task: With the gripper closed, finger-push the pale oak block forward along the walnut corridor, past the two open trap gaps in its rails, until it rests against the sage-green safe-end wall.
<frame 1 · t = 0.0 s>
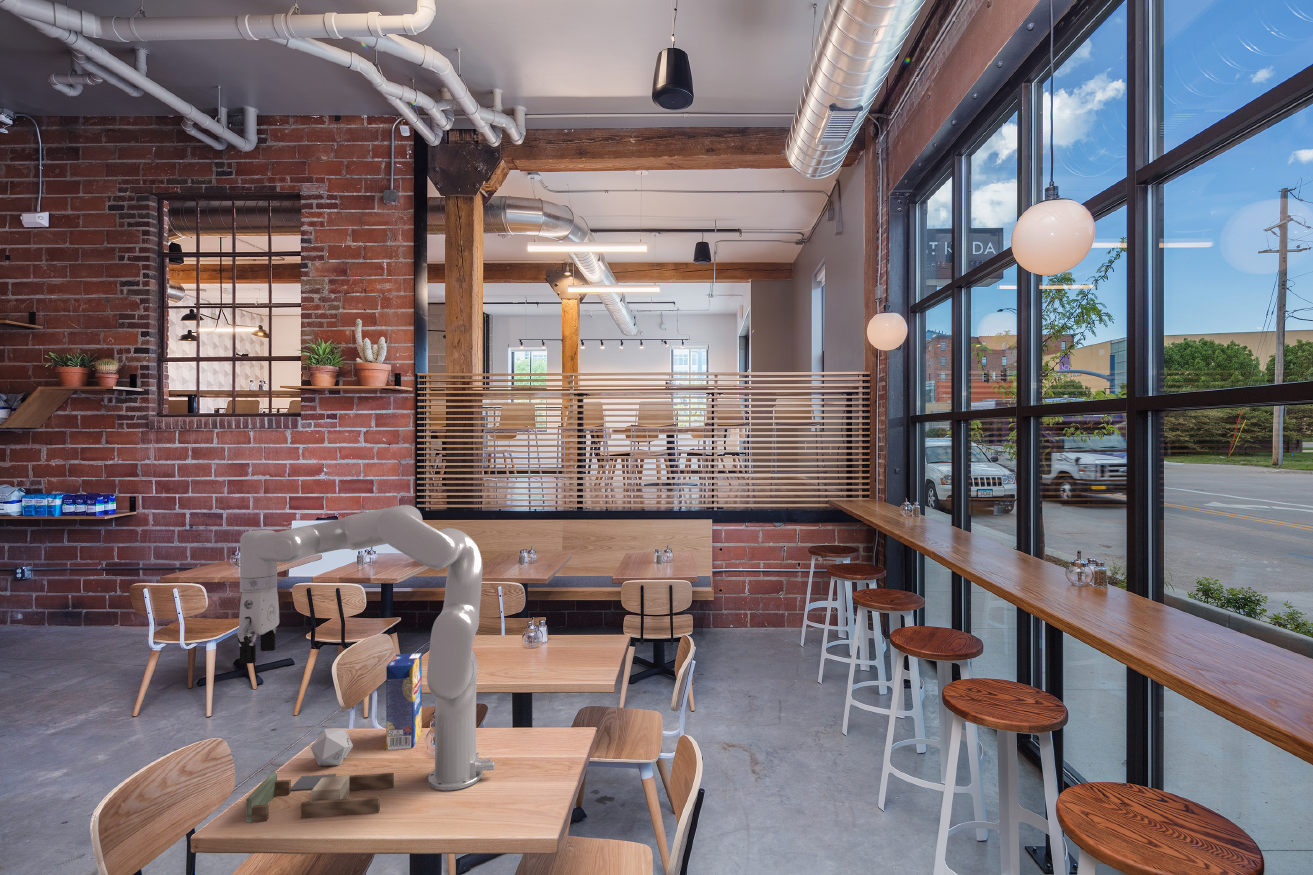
hand: (258, 656, 153), 31 cm above the table, fingers open, 9 cm apart
oak block: (330, 803, 147), on the table
die: (332, 763, 167), on the table
trap box: (326, 802, 147), on the table
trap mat: (313, 782, 156), on the table
beverage box: (404, 740, 179), on the table
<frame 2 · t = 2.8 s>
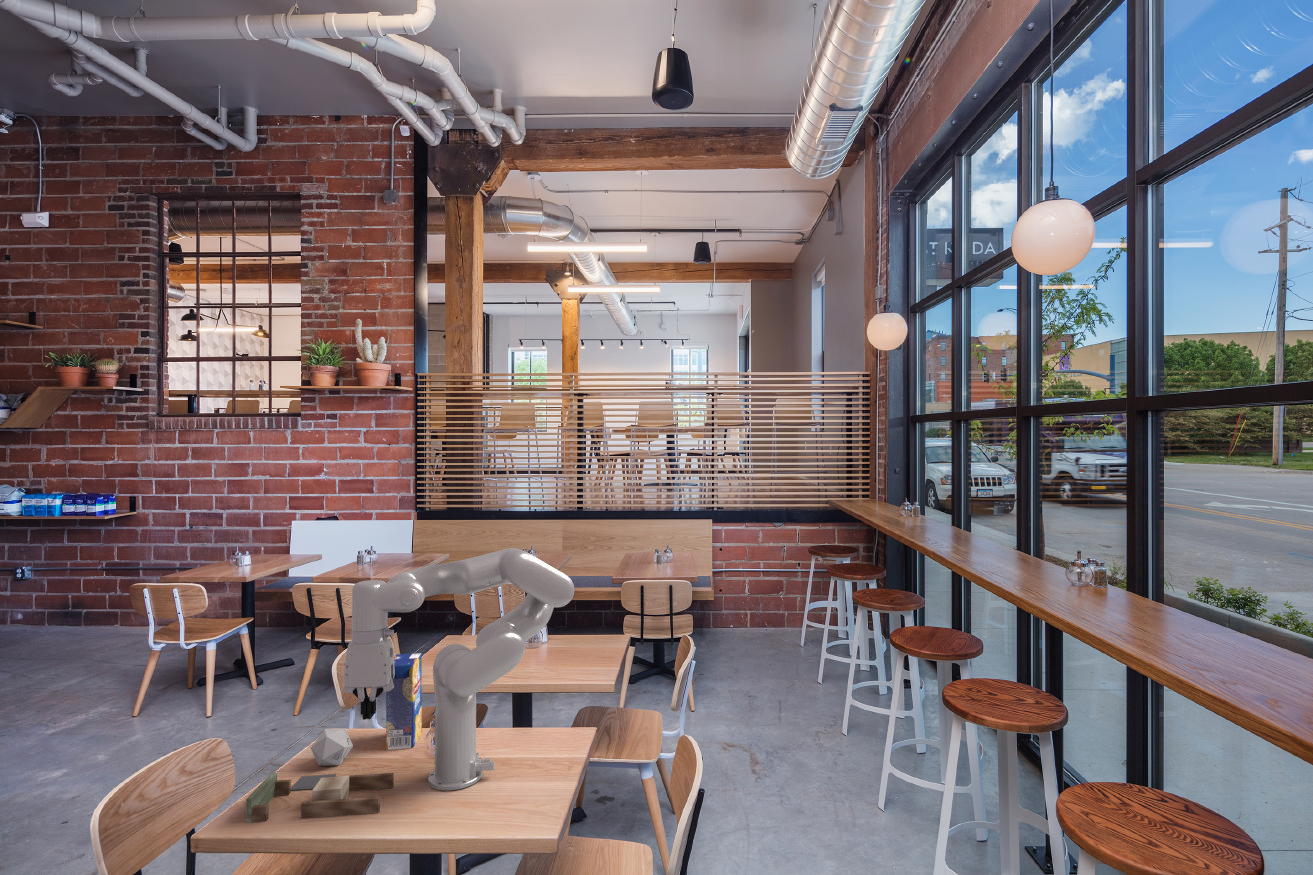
hand: (368, 716, 148), 19 cm above the table, fingers closed
nothing on the table moved.
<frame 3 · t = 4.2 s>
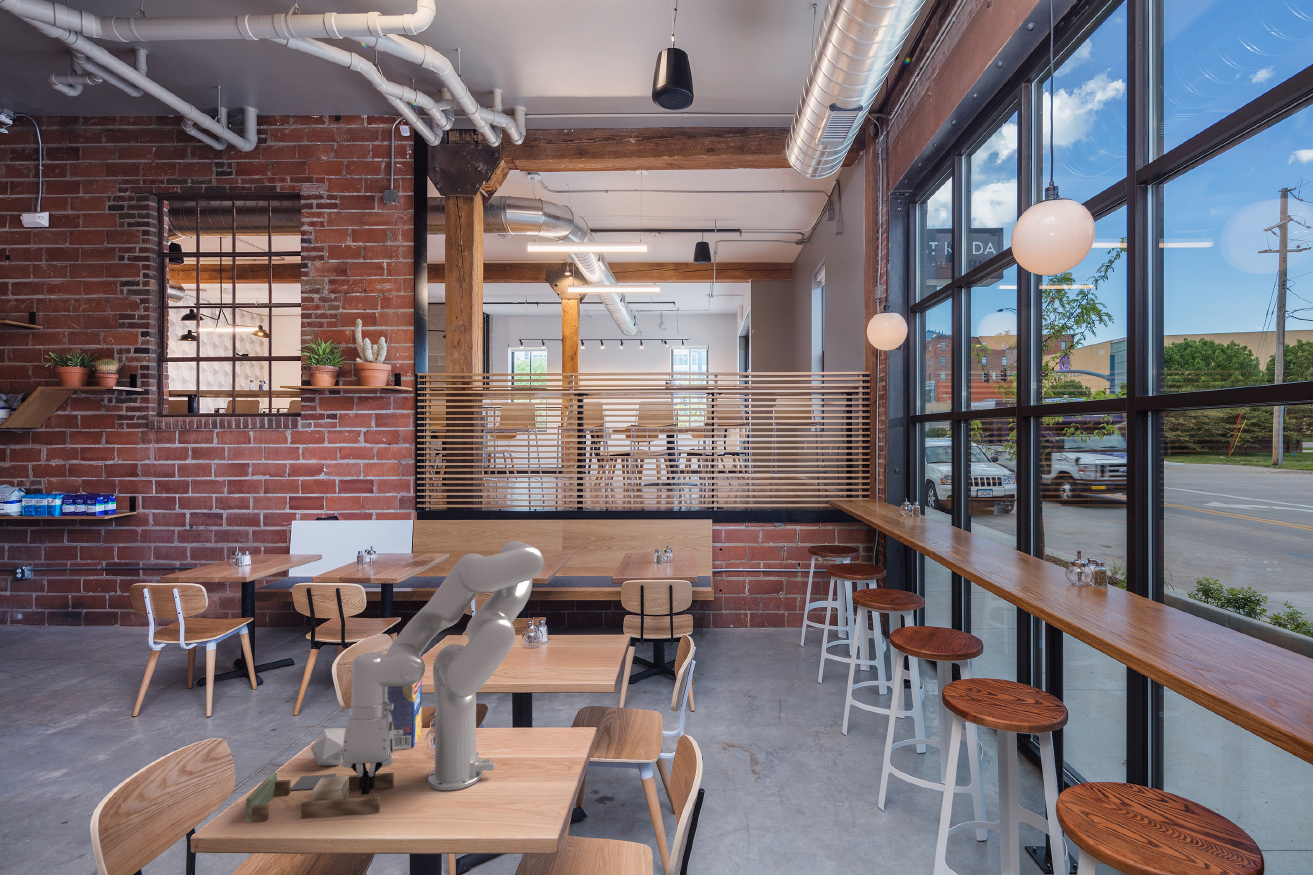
hand: (366, 791, 148), 2 cm above the table, fingers closed
nothing on the table moved.
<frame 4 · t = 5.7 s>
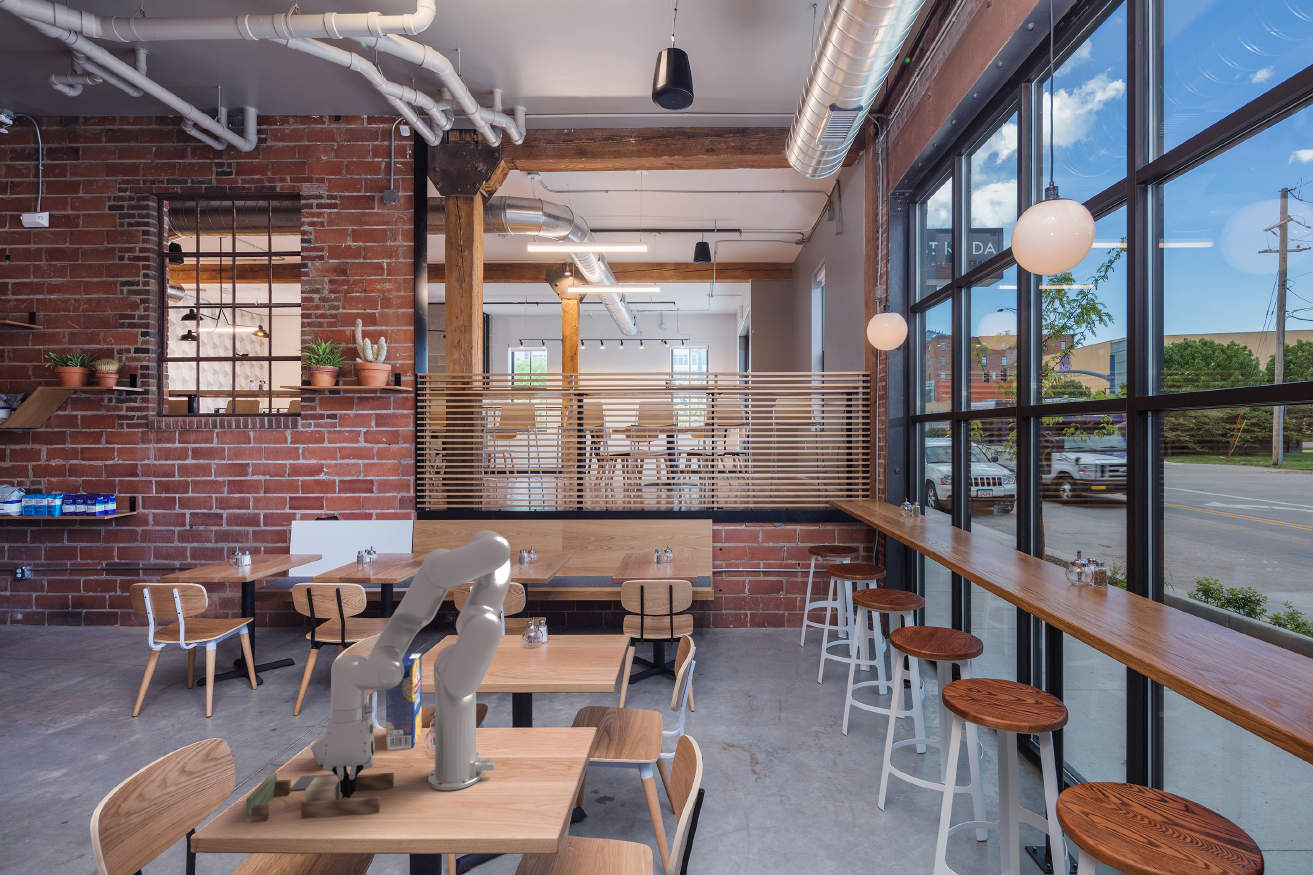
hand: (348, 794, 147), 1 cm above the table, fingers closed
oak block: (324, 802, 147), on the table, touching gripper
everything else where it was.
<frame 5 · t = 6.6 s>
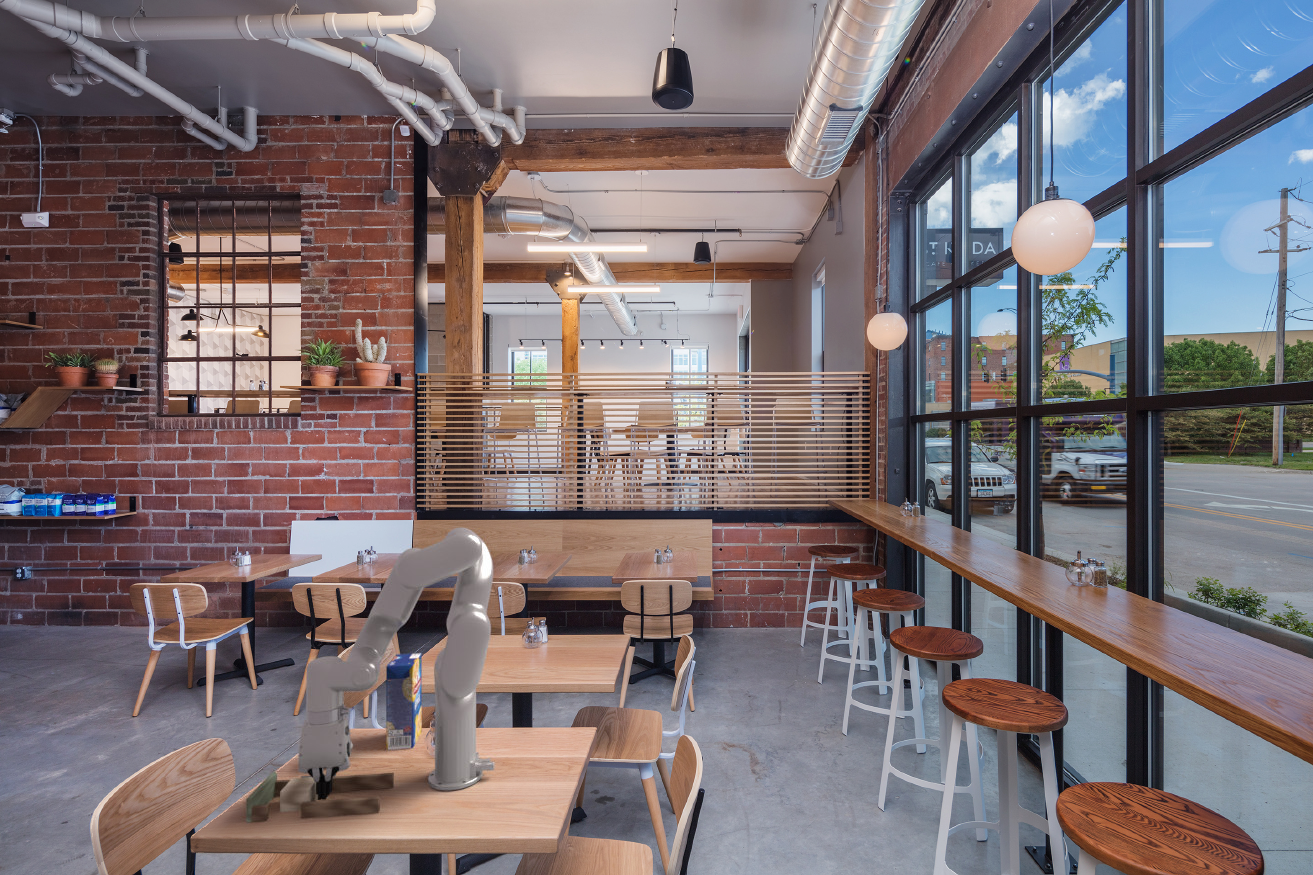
hand: (324, 796, 147), 1 cm above the table, fingers closed
oak block: (300, 804, 147), on the table
everything else where it was.
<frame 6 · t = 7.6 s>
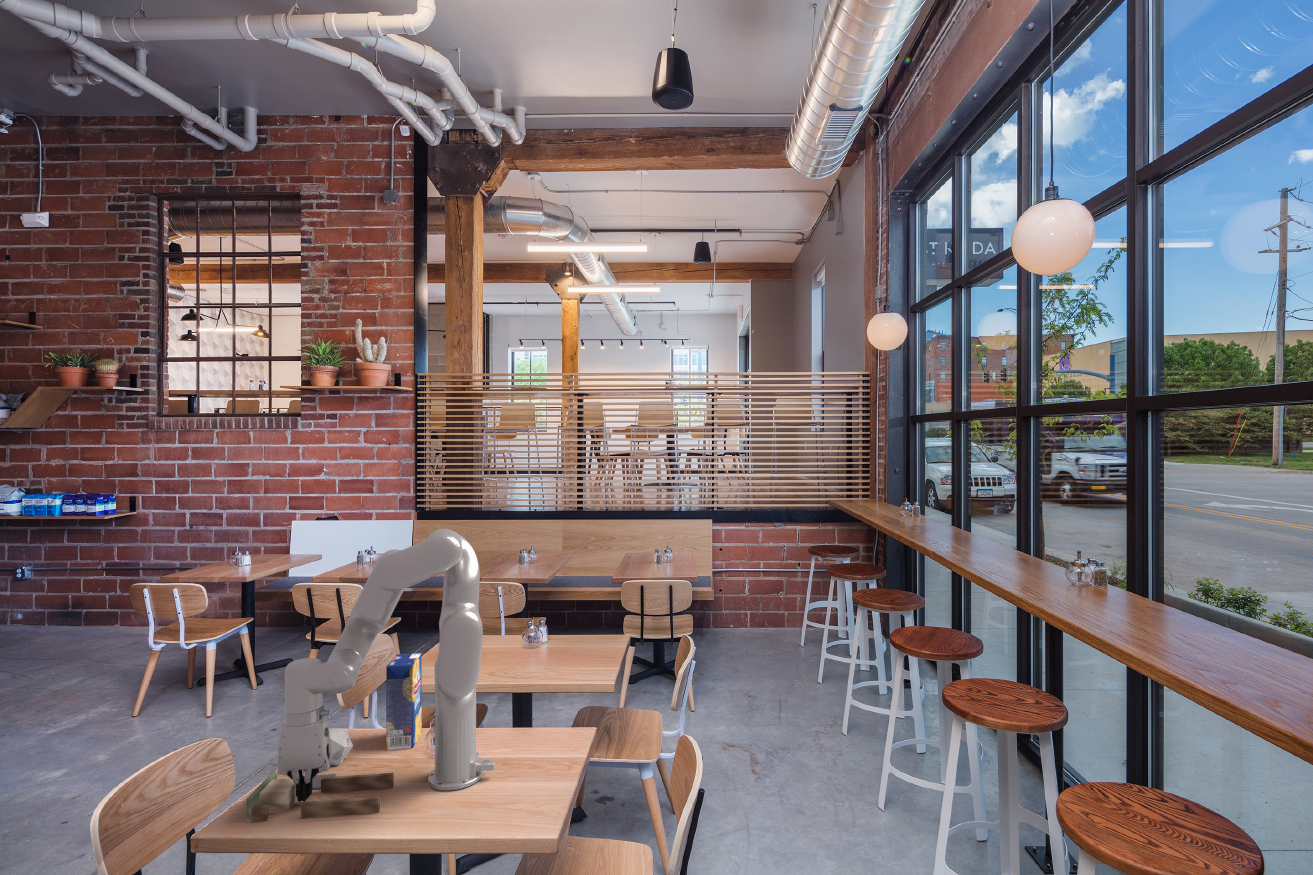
hand: (304, 798, 146), 1 cm above the table, fingers closed
oak block: (280, 805, 146), on the table, touching gripper, trap box
everything else where it was.
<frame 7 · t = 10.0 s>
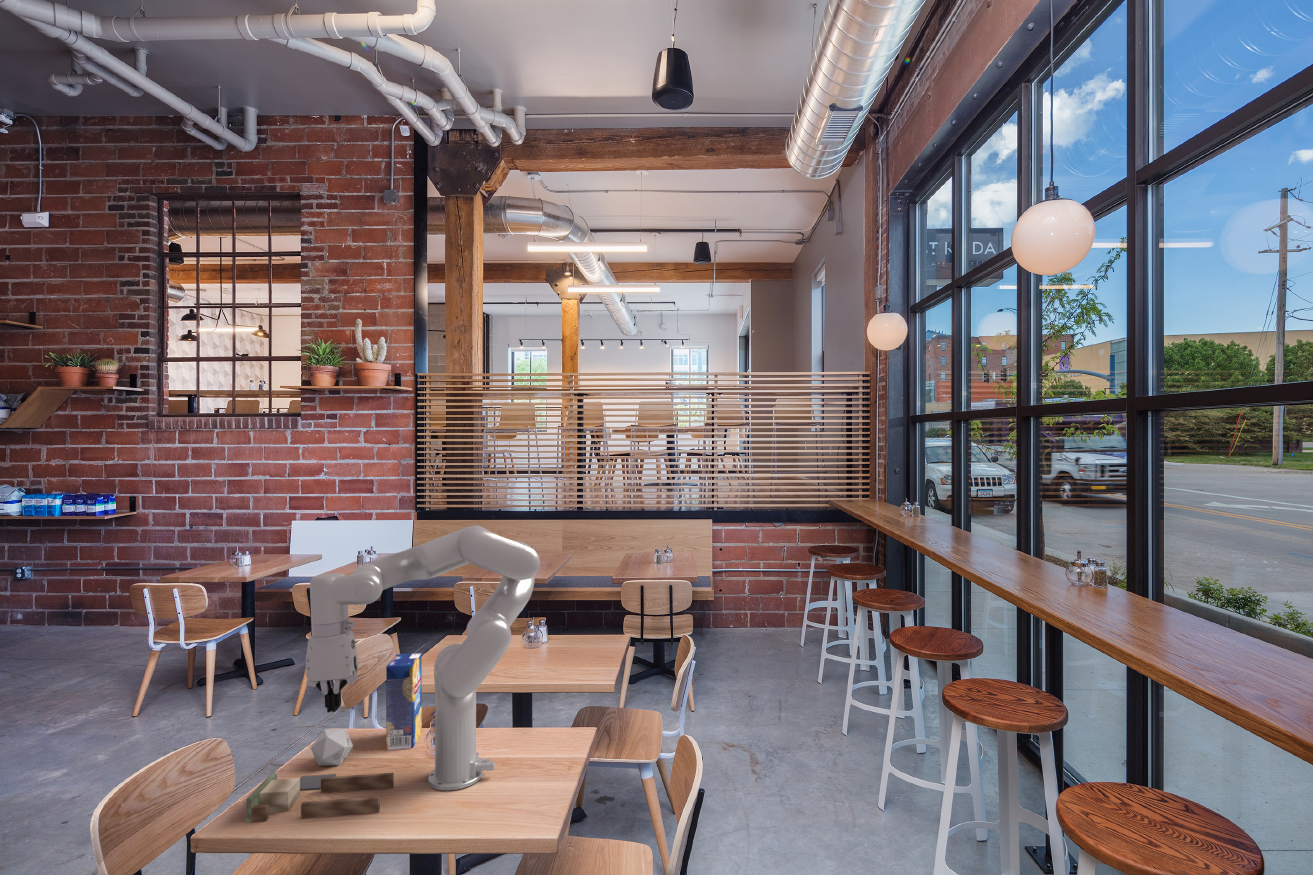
hand: (333, 709, 148), 21 cm above the table, fingers closed
oak block: (280, 805, 146), on the table
everything else where it was.
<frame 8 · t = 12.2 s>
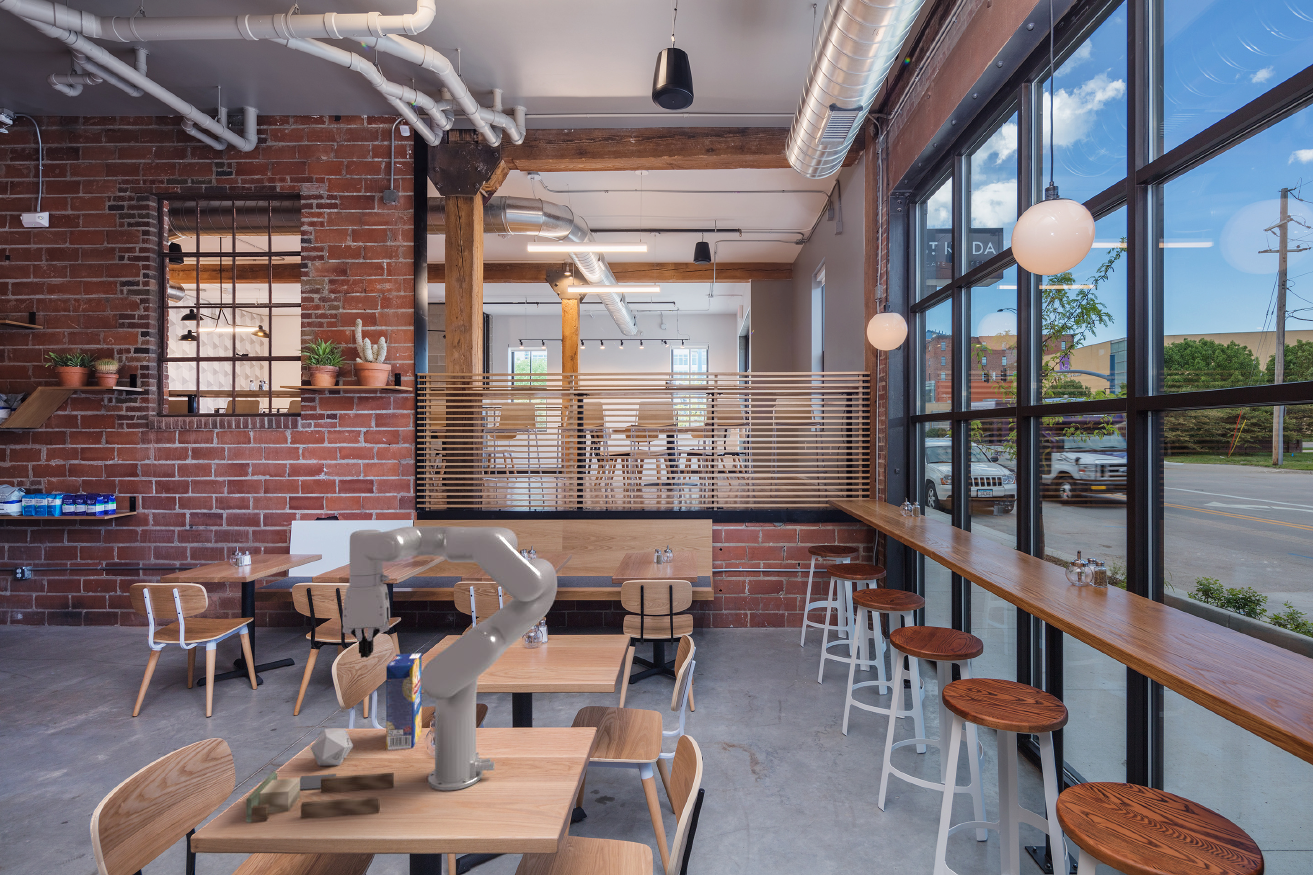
hand: (366, 655, 160), 29 cm above the table, fingers closed
nothing on the table moved.
at the end: oak block inside the target area (0.6 cm from its centre), on the table; oak block tilted 0°; oak block moved 11.0 cm from its start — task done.
